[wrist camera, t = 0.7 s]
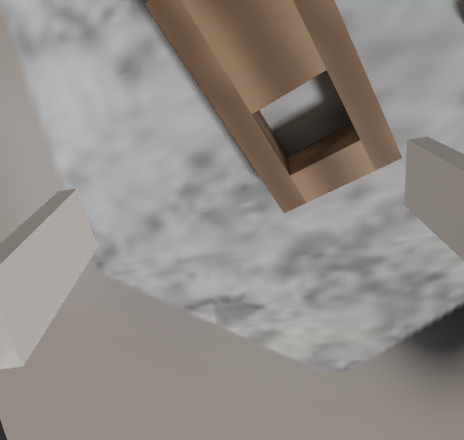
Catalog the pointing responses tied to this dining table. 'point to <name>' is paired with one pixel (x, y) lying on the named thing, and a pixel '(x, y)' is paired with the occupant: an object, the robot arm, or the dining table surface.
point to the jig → (280, 85)
